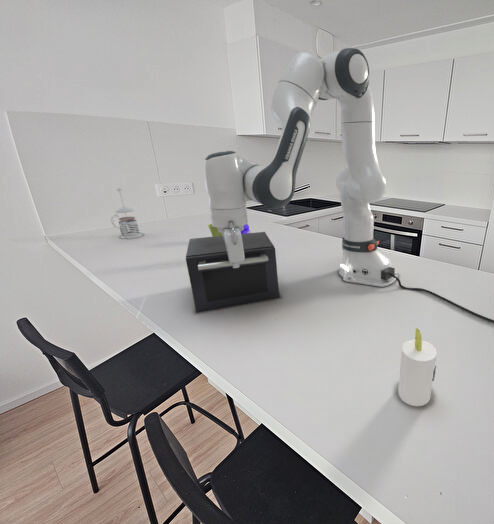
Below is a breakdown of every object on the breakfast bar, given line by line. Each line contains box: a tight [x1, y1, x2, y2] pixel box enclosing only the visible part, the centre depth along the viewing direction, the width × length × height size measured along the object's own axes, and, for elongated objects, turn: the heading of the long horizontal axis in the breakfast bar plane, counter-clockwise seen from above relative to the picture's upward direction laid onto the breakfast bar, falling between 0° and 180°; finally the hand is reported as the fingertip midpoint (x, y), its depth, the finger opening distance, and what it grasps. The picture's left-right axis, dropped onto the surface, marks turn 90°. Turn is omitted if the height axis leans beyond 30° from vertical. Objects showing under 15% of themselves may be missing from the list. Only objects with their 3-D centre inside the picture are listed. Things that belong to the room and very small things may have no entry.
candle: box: [397, 327, 438, 407], centre depth 56 cm, size 6×6×15 cm
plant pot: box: [207, 223, 223, 237], centre depth 150 cm, size 9×9×9 cm
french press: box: [110, 187, 143, 240], centre depth 153 cm, size 10×12×25 cm
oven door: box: [185, 246, 280, 313], centre depth 86 cm, size 5×24×17 cm, turn 114°
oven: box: [185, 231, 275, 258], centre depth 97 cm, size 18×24×17 cm
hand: (236, 267), depth 82 cm, fingers closed, pressing on oven door
